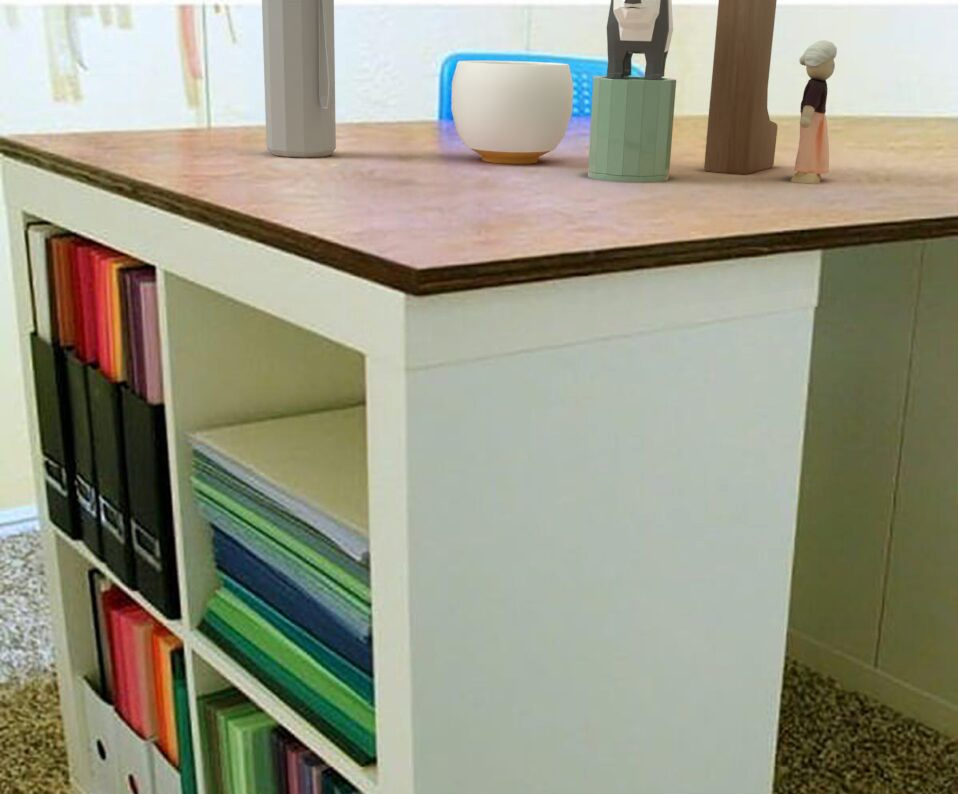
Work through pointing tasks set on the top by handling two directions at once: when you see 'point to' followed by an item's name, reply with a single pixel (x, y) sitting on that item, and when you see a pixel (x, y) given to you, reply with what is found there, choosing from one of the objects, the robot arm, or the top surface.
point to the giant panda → (638, 36)
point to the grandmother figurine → (814, 114)
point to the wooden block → (741, 89)
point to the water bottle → (299, 77)
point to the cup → (511, 108)
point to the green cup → (631, 129)
